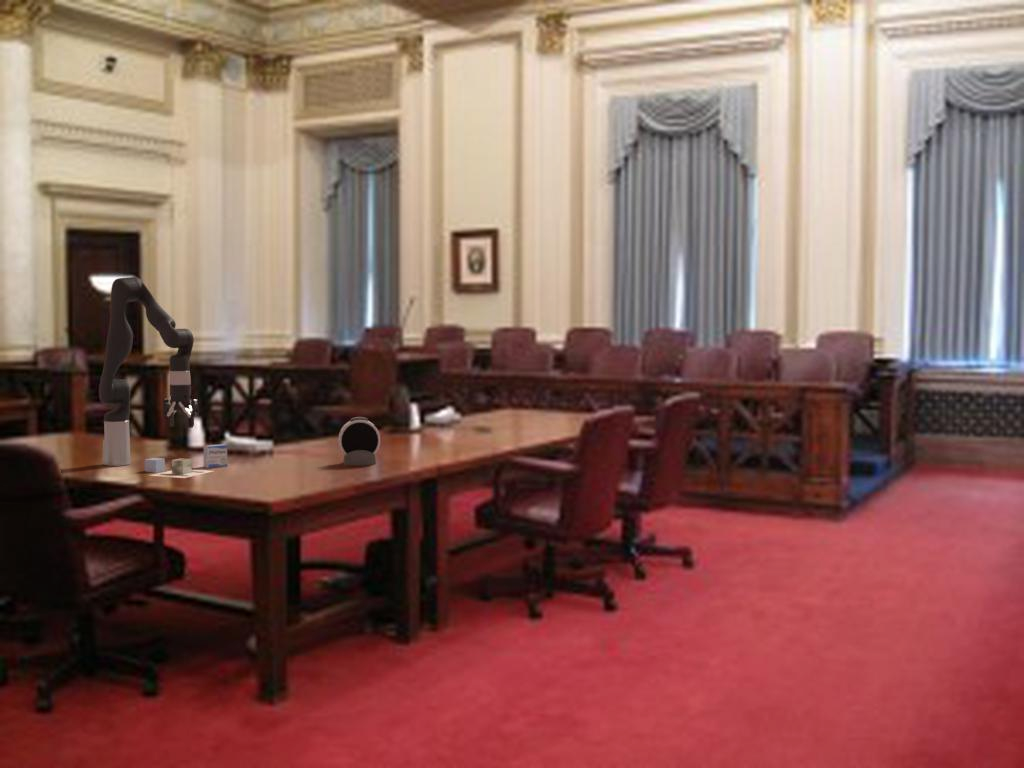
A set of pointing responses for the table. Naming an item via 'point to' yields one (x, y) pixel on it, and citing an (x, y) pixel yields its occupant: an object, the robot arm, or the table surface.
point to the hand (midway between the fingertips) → (181, 427)
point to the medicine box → (215, 456)
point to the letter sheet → (169, 474)
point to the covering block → (181, 466)
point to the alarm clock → (359, 442)
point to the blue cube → (154, 464)
